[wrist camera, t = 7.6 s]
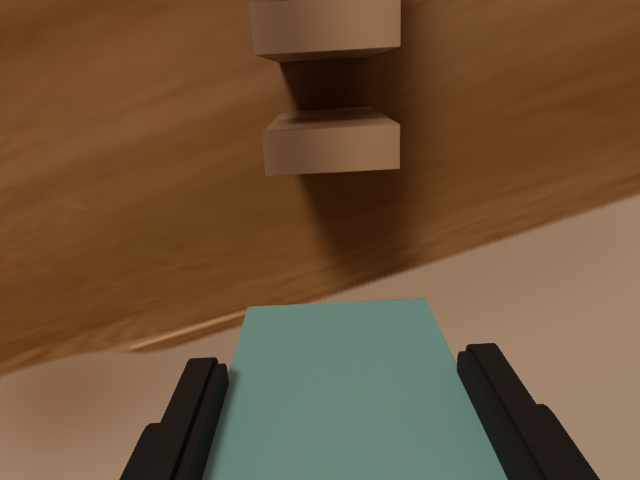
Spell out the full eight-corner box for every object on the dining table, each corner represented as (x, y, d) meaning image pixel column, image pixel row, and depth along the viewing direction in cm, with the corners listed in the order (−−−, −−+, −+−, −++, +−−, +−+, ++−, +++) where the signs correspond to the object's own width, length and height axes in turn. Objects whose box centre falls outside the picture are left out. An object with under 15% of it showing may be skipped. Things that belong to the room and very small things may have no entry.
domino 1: (369, 24, 24) (400, -7, 15) (369, 57, 25) (400, 46, 15) (276, 30, 24) (248, 2, 15) (278, 62, 25) (253, 55, 15)
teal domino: (424, 297, 13) (736, 936, 3) (423, 346, 13) (685, 1012, 4) (247, 307, 13) (54, 959, 3) (253, 354, 13) (101, 1032, 4)
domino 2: (370, 106, 26) (399, 124, 16) (370, 134, 26) (399, 168, 17) (282, 111, 26) (261, 132, 16) (284, 139, 26) (266, 176, 17)
